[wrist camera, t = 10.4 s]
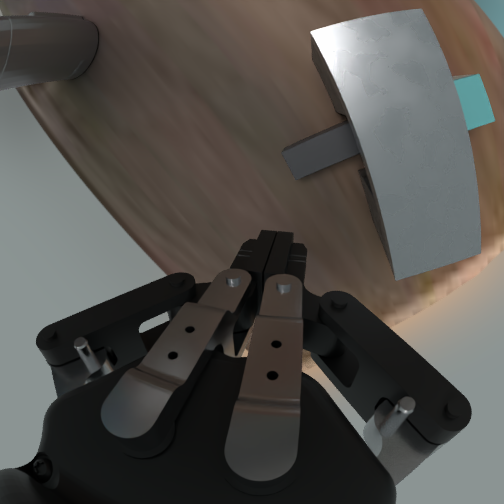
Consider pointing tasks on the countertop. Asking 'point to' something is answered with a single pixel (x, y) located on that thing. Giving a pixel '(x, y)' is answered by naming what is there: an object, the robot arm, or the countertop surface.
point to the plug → (344, 144)
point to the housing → (405, 136)
